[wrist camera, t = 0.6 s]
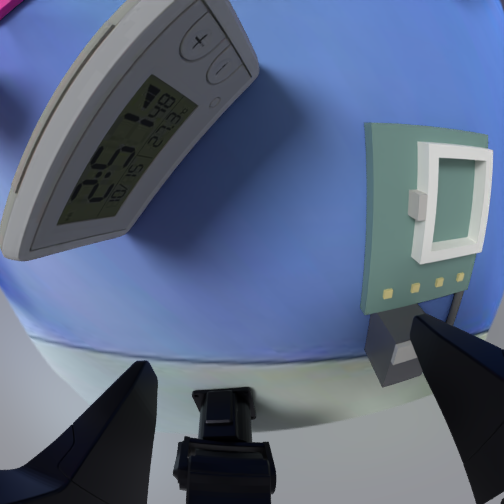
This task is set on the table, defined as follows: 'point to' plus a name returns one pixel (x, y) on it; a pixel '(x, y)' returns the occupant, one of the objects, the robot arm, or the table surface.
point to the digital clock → (124, 122)
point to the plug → (393, 345)
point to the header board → (422, 212)
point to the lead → (454, 307)
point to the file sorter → (7, 6)
